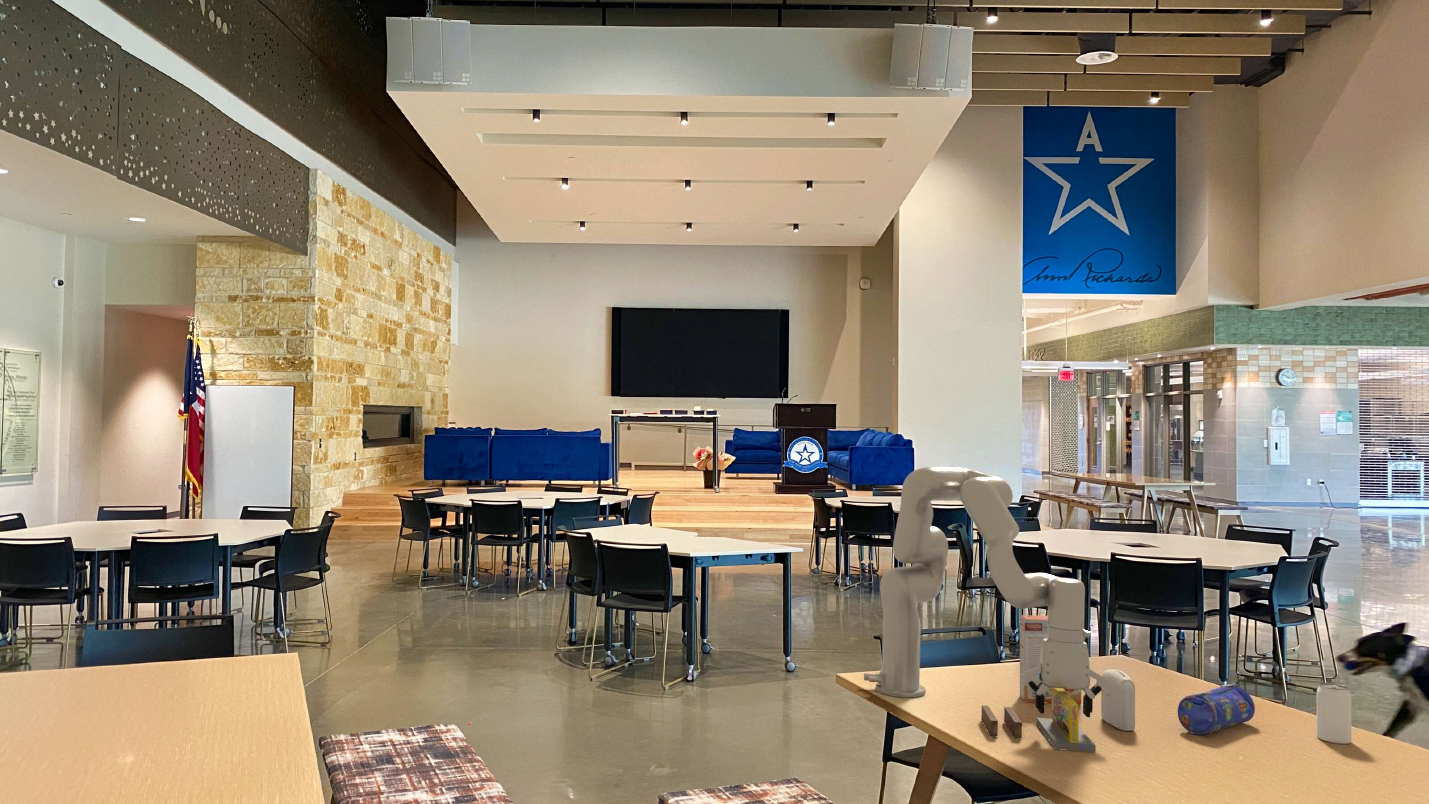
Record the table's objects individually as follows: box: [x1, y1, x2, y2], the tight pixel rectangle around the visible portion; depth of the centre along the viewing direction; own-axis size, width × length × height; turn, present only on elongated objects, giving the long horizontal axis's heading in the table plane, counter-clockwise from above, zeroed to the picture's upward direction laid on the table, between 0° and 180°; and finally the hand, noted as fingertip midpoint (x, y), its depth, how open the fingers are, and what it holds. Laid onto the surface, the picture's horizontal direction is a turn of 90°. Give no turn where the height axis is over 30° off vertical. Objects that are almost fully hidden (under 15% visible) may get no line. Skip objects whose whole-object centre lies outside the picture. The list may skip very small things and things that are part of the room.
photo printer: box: [1100, 669, 1136, 732], centre depth 213 cm, size 10×4×12 cm, turn 2°
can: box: [1316, 682, 1352, 745], centre depth 206 cm, size 6×6×12 cm
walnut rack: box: [980, 704, 1023, 740], centre depth 206 cm, size 7×12×4 cm, turn 173°
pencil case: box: [1177, 682, 1256, 736], centre depth 213 cm, size 22×9×10 cm, turn 127°
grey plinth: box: [1036, 717, 1097, 753], centre depth 201 cm, size 8×18×2 cm, turn 173°
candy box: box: [1051, 687, 1079, 744], centre depth 201 cm, size 16×2×8 cm, turn 173°
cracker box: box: [1019, 614, 1082, 706], centre depth 232 cm, size 14×6×21 cm, turn 84°
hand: (1063, 713), depth 202 cm, fingers open, 9 cm apart
